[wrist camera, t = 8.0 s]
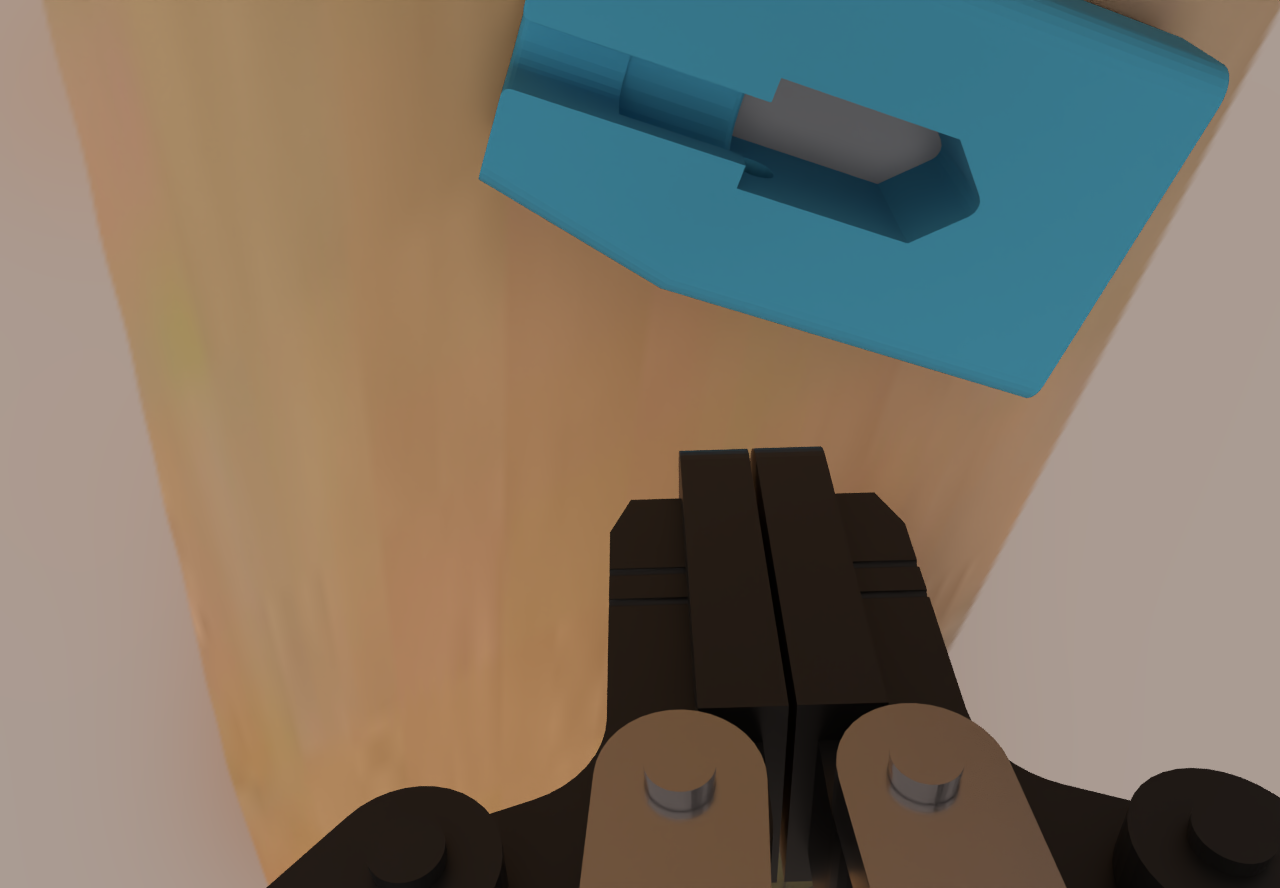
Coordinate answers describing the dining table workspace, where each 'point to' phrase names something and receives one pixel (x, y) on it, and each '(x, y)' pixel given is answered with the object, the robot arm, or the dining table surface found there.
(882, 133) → the mat
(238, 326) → the dining table surface
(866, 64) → the block
